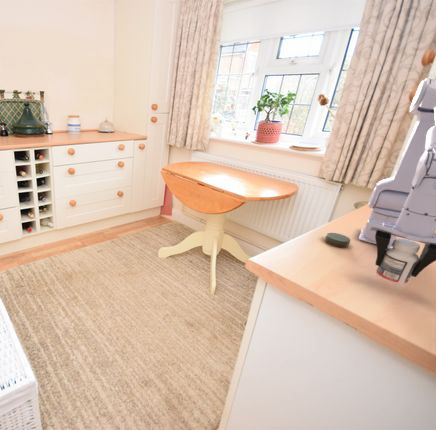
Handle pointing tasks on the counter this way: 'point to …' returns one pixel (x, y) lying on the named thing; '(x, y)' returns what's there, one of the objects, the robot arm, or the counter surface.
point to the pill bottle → (398, 262)
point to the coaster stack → (337, 240)
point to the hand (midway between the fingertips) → (394, 268)
